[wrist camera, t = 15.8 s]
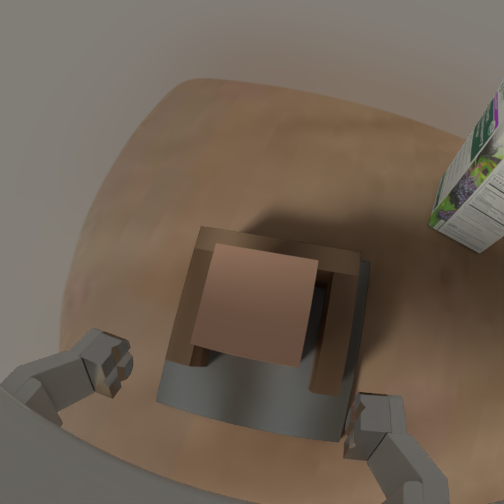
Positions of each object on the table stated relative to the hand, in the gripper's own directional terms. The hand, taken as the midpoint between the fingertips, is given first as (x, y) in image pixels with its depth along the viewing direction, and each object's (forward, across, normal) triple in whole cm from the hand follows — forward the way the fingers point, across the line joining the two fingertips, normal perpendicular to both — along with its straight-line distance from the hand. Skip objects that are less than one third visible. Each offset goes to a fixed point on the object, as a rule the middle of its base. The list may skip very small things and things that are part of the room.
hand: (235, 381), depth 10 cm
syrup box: (+19, -15, -2) cm, 24 cm away
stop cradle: (+10, 0, +6) cm, 12 cm away
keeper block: (+10, 0, +6) cm, 11 cm away
